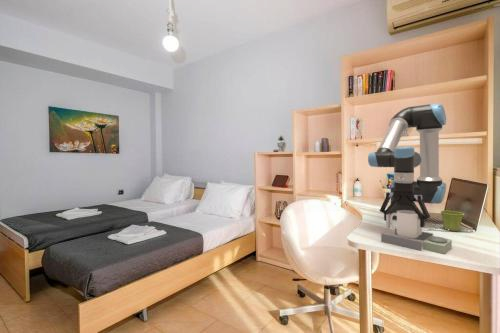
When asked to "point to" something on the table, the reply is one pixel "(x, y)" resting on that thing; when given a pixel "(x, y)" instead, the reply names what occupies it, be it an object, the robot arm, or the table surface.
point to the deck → (420, 242)
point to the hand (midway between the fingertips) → (403, 231)
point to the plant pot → (452, 220)
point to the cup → (406, 223)
